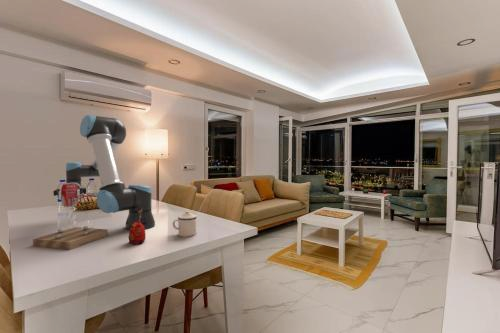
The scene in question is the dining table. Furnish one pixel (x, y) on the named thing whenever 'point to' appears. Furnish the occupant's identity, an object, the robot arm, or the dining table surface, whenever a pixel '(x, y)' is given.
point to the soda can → (69, 194)
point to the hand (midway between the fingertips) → (69, 193)
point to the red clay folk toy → (137, 232)
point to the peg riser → (70, 237)
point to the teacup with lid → (186, 224)
